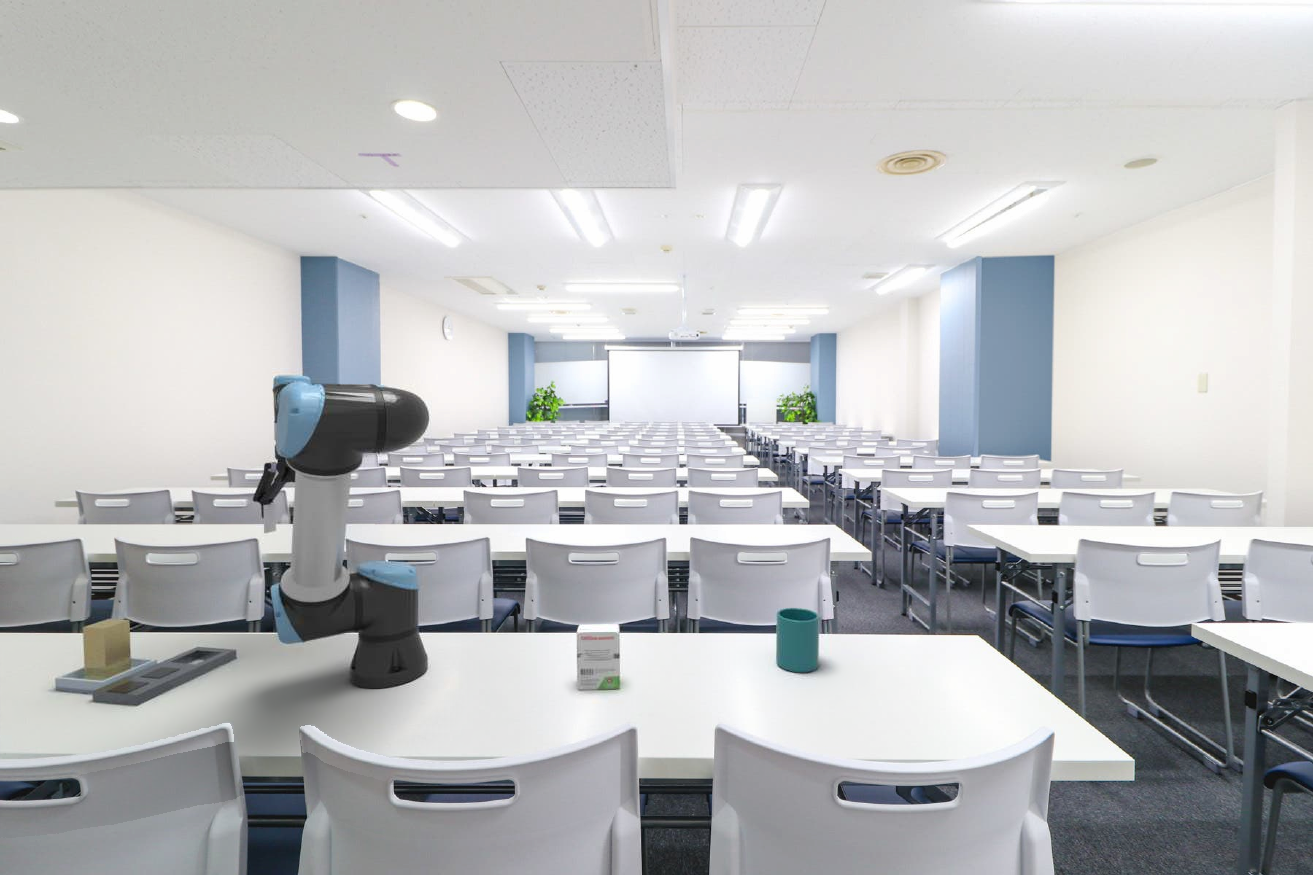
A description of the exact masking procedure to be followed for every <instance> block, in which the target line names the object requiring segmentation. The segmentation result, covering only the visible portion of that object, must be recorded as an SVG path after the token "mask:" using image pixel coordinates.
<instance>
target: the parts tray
mask: <svg viewBox="0 0 1313 875" xmlns="http://www.w3.org/2000/svg"><path fill="white" fill-rule="evenodd" d="M156 664H158V659H157V658H143V657H131V669H130V670H127V671H125V672H123V673H120V674H118V675H115V676H113V677H110V678H108V679H106V680H103V681H100V680H89V679H85V668H84V667H81V668H79V669H76V670H73V671H71V672H67V673H66V674H65V673H64V674H63V675H60V676H57V677H55V678H54V679H55V680H54V682H55V683H54V684H55V691H57V692H67V693H76V694H89V695H93V692H92V691H94V690H96V689H99V688H101V687H103V686H106V685H108V684H110V683H113V682H115V681H118V680H120V679H122V678H125V677H127V676H129V675H132V674H134V673H137V672H139V671H141V670H144V669H146V668H148V667H151V666H153V665H156Z"/></svg>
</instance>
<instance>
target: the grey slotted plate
mask: <svg viewBox="0 0 1313 875" xmlns="http://www.w3.org/2000/svg"><path fill="white" fill-rule="evenodd" d="M237 654H238V653H237V649H235V648H234V649H233V648H220V647H207V646H195V647H194V648H191V649H188V650H187V651H184V652H181V653H180V654H177V655H174V656H172V657H171V658H170V657H169V658H168V659H166V660H162V661H161V662H160V661H159V662H157V664H156V665H153V666H151V667H148V668H146V669H144V670H141V671H139V672H137V673H134V674H132V675H129V676H127V677H125V678H122V679H120V680H118V681H115V682H113V683H110V684H108V685H106V686H103V687H101V688H99V689H96V690H94V691H92V692H93V694H92V702H95V703H107V704H116V705H117V704H118V705H127V706H137V707H138V706H140V705H143V704H144V703H146V702H148V701H150V700H152V699H154V698H157V697H159V696H161V695H163V694H165V693H167V692H169V691H171V690H174V689H175V688H178V687H180V686H182V685H184V684H186V683H188V682H190V681H192V680H194V679H196V678H197V679H198V677H201V676H203V675H205V674H207V673H209V672H211V671H213V670H215V669H217V668H220V667H221V666H223V665H226V664H228V663H230V662H232V661H234V660H236V659H238V658H237V657H238V655H237ZM196 660H201V661H200V662H198V663H192V662H194V661H196Z"/></svg>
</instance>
